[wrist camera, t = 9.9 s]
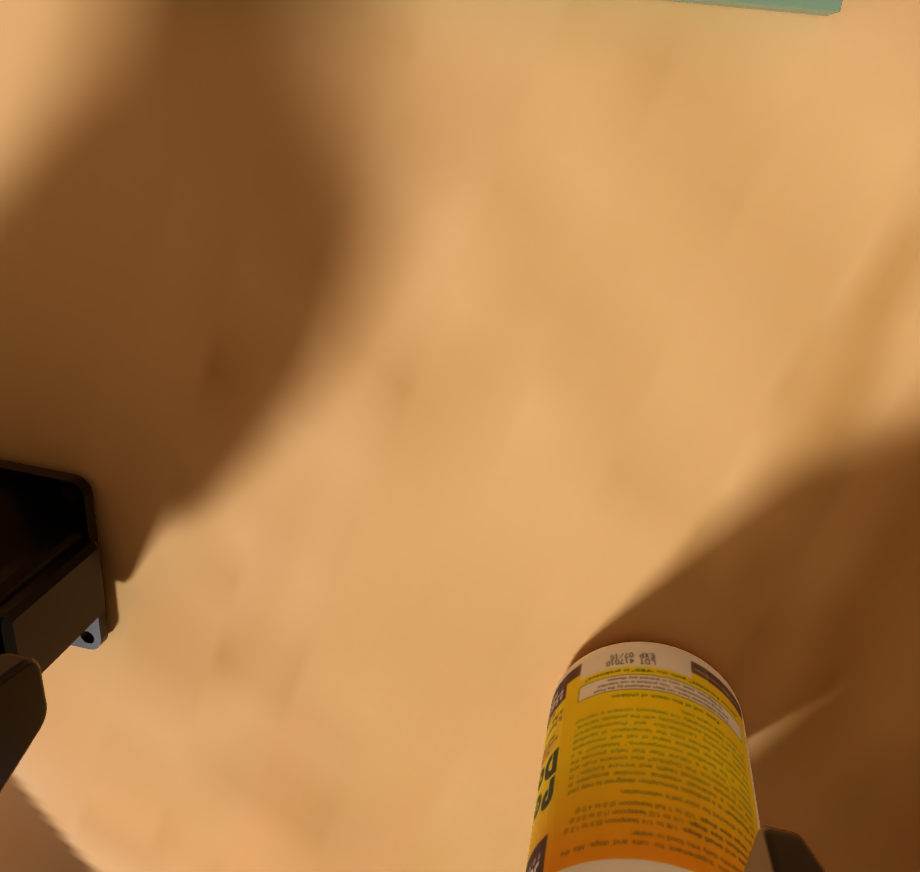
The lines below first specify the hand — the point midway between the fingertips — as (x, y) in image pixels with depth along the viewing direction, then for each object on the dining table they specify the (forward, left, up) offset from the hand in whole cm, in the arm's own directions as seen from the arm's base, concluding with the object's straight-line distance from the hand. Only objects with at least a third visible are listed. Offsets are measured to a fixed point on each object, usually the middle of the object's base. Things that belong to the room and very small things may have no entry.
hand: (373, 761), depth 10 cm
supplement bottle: (+5, -9, -13) cm, 17 cm away
